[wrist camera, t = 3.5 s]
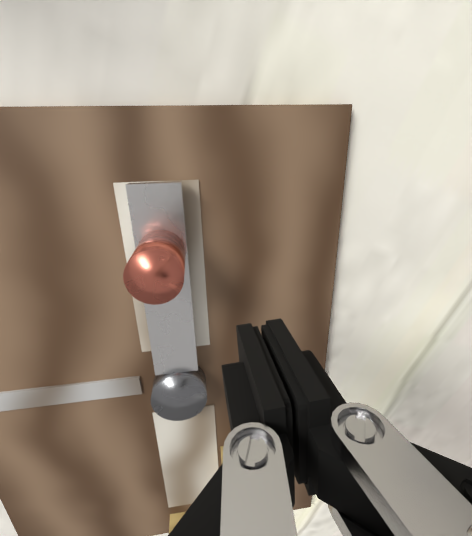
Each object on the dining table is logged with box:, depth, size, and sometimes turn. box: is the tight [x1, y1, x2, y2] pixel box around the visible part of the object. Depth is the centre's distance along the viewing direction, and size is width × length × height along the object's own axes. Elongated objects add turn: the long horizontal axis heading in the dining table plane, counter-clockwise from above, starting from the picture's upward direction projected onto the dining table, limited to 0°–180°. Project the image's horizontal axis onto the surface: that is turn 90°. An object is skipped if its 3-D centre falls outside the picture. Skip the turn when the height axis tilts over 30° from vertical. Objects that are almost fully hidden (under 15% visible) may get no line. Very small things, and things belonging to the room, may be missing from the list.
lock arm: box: [123, 181, 207, 421], centre depth 18 cm, size 17×4×5 cm, turn 2°
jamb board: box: [0, 104, 352, 536], centre depth 22 cm, size 28×38×3 cm
